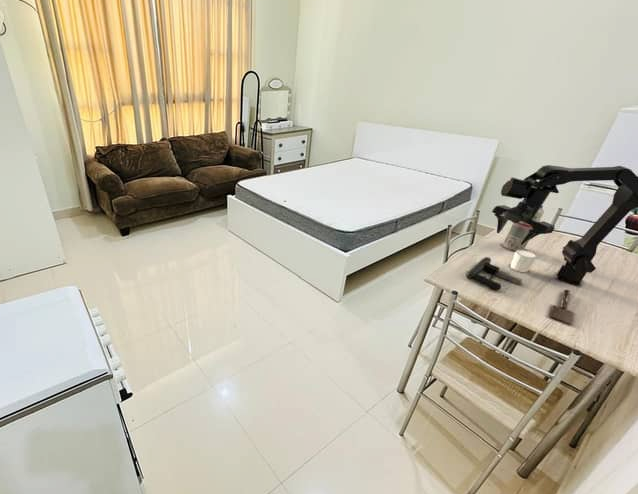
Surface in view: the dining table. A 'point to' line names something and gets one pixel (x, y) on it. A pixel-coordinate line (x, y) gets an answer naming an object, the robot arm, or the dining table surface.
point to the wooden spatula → (562, 310)
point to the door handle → (490, 269)
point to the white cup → (523, 260)
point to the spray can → (519, 233)
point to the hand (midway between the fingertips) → (509, 238)
